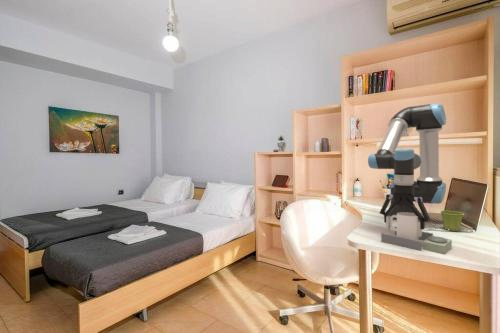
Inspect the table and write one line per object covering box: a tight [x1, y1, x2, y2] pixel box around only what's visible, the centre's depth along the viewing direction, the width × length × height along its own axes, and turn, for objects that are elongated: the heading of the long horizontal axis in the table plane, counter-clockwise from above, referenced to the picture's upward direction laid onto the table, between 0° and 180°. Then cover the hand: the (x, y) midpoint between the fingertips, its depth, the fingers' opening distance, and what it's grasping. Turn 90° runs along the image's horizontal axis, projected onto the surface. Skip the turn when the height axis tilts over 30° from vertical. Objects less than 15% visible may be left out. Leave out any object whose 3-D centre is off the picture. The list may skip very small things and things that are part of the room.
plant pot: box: [439, 210, 465, 232], centre depth 128 cm, size 9×9×9 cm
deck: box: [380, 226, 453, 255], centre depth 110 cm, size 16×22×4 cm
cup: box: [390, 212, 420, 241], centre depth 113 cm, size 8×12×10 cm
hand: (403, 233), depth 113 cm, fingers closed on cup, 12 cm apart
